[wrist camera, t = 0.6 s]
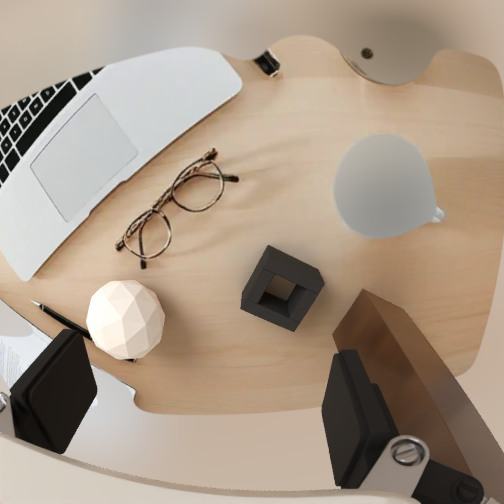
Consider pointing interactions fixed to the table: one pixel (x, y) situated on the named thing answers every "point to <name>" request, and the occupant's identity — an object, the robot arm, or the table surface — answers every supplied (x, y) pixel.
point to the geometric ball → (125, 319)
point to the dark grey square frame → (272, 306)
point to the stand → (421, 390)
